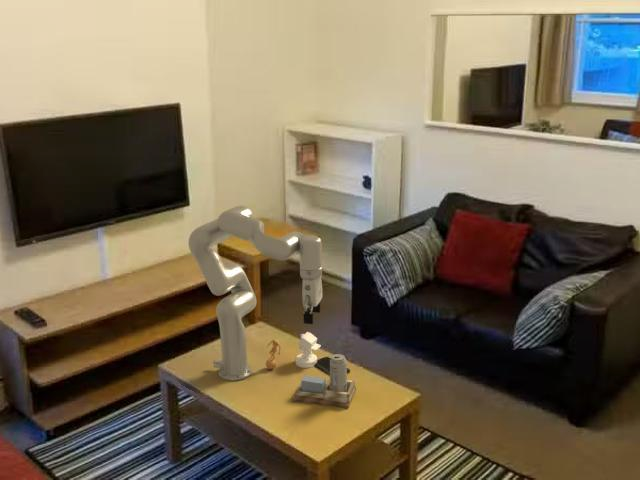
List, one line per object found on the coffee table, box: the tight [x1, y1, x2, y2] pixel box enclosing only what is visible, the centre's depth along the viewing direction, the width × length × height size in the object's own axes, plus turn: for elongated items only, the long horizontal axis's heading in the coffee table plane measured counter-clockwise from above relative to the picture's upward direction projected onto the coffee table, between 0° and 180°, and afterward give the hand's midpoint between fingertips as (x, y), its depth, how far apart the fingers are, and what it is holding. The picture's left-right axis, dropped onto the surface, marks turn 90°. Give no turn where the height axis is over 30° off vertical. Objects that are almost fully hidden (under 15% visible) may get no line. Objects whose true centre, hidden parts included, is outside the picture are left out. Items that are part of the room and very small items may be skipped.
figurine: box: [265, 339, 282, 370], centre depth 273 cm, size 8×6×12 cm
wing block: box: [300, 374, 327, 394], centre depth 255 cm, size 8×4×5 cm, turn 73°
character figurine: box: [295, 331, 322, 369], centre depth 277 cm, size 9×10×12 cm
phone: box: [314, 356, 351, 376], centre depth 274 cm, size 8×1×15 cm
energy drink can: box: [329, 353, 348, 392], centre depth 251 cm, size 6×6×15 cm
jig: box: [291, 377, 357, 409], centre depth 254 cm, size 20×13×4 cm, turn 76°
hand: (312, 317), depth 247 cm, fingers open, 9 cm apart
